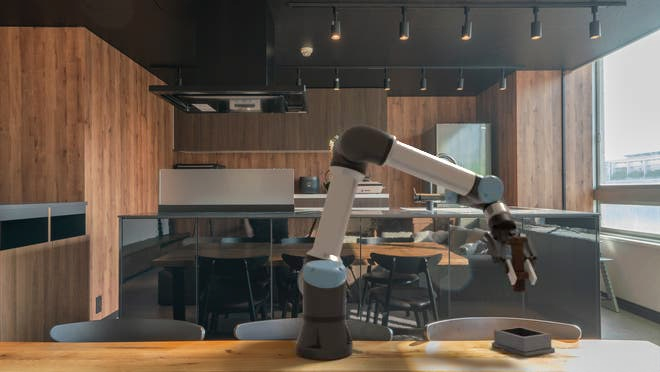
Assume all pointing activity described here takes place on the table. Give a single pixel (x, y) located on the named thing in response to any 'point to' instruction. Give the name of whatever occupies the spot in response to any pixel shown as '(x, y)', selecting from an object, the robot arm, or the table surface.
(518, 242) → the brown flared column
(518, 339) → the rectangular open box
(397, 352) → the table surface
